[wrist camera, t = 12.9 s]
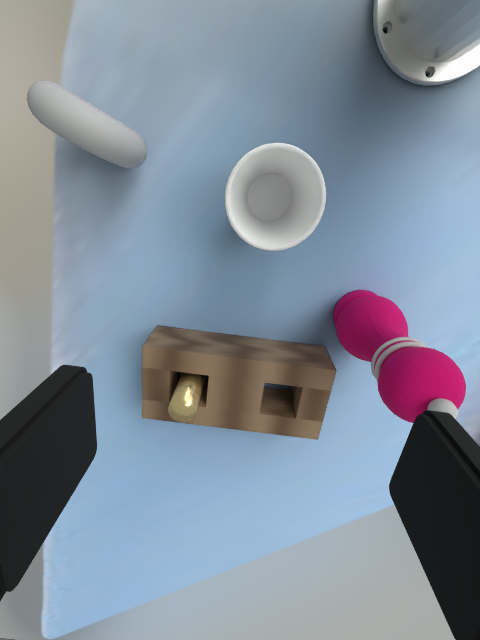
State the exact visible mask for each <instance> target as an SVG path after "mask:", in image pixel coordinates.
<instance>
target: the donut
mask: <svg viewBox="0 0 480 640" xmlns="http://www.w3.org/2000/svg"><path fill="white" fill-rule="evenodd" d="M27 101H28V105H29V108H30V110H31V112H32V114H33V115H34V116H35V117H36V118H37V119H38V121H40V123H41V124H43V125H44V126H46V127H47V128H48V129H50V130H51V131H53V132H54V133H56V134H58V135H59V136H61V137H63V138H64V139H66V140H68V141H69V142H71V143H73V144H75V145H77V146H78V147H80V148H82V149H84V150H86V151H88V152H90V153H92V154H94V155H96V156H98V157H100V158H102V159H104V160H106V161H108V162H111V163H113V164H116V165H118V166H121V167H124V168H135V167H138V166H140V165H141V164H142V163H143V162H144V160H145V158H146V154H147V151H146V145H145V142H144V140H143V139H142V137H141V136H140V135H139V134H138V133H137V132H135V131H134V130H132V129H131V128H129V127H127V126H126V125H124V124H123V123H121V122H119V121H118V120H116V119H114V118H113V117H111V116H109V115H108V114H106V113H104V112H103V111H101V110H100V109H98V108H96V107H95V106H93V105H91V104H90V103H88V102H86V101H85V100H83V99H81V98H80V97H78V96H76V95H75V94H73V93H71V92H70V91H68V90H66V89H65V88H63V87H61V86H60V85H58V84H56V83H53V82H51V81H46V80H41V81H37V82H35V83H34V84H32V85H31V86H30V88H29V90H28V94H27Z"/></svg>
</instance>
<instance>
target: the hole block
mask: <svg viewBox="0 0 480 640" xmlns="http://www.w3.org/2000/svg"><path fill="white" fill-rule="evenodd" d="M180 372H184V373H192V374H200V375H208V376H209V380H205V381H204V384H203V388H202V392H201V396H200V400H199V403H198V407H197V411H196V415H195V417H194V418H193V419H192V420H190V421H188V422H179V423H188V424H196V425H204V426H212V427H220V428H228V429H236V430H244V431H252V432H260V433H268V434H277V435H285V436H293V437H301V438H309V439H317V440H318V437H319V434H320V430H321V426H322V422H323V419H324V415H325V411H326V408H327V404H328V400H329V396H330V393H331V389H332V385H333V381H334V378H335V374H336V368H335V366H334V364H333V362H332V360H331V358H330V355H329V353H328V351H327V349H326V347H325V346H317V345H309V344H301V343H293V342H285V341H277V340H269V339H261V338H253V337H245V336H237V335H229V334H221V333H213V332H205V331H198V330H190V329H182V328H174V327H166V326H158V325H157V327H156V328H155V330H154V331H153V332H152V334H151V335H150V336H149V338H148V339H147V341H146V342H145V343H144V345H143V346H142V418H147V419H155V420H163V421H171V422H178V421H176V420H174V419H173V418H172V417H171V416H170V415H169V413H168V406H169V404H170V401H171V399H172V396H173V394H174V391H175V389H176V386H177V384H178V381H179V379H180ZM265 383H272V384H280V385H288V386H292V387H291V390H286V389H278V388H270V387H264V384H265Z"/></svg>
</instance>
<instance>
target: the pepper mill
mask: <svg viewBox="0 0 480 640" xmlns="http://www.w3.org/2000/svg"><path fill="white" fill-rule="evenodd" d="M333 321H334V324H335V326H336V331H337V336H338V339H339V341H340V343H341V344H342V346H343V347H344V348H345V349H346V350H347V351H348V352H349V353H350V354H352V355H353V356H355V357H357V358H359V359H361V360H365V361H369V362H371V369H372V373H373V375H374V377H375V378H376V379H377V381H378V391H379V394H380V396H381V398H382V400H383V402H384V403H385V405H386V406H387V407H388V408H389V409H390V410H391V411H392V412H393V413H394V414H395V415H397V416H398V417H400V418H401V419H403V420H406V421H408V422H412V423H414V421H415V419H416V417H417V416H418V415H420V414H422V413H423V412H424V411H426V410H431V411H439V412H447V413H450V414H451V415H452V416H453V417H454V418H455V419H457V417H458V411H457V410H458V408H459V407H460V406H461V404H462V403H463V400H464V397H465V391H466V384H465V380H464V377H463V374H462V372H461V370H460V369H459V367H458V366H457V365H456V364H455V362H454V361H453V360H452V359H451V358H449V357H448V356H447V355H445V354H444V353H442V352H439V351H437V350H435V349H431V348H428V347H427V346H425V345H424V343H422V342H421V341H419V340H417V339H414V338H410V337H408V326H407V322H406V319H405V317H404V315H403V313H402V311H401V310H400V309H399V308H398V307H397V306H396V304H394V303H393V302H392V301H390V300H389V299H386V298H384V297H381V296H377V295H376V294H375V293H373V292H370V291H366V290H357V291H353V292H350V293H348V294H346V295H344V296H343V297H342V298H341V299H340V300H339V301H338V303H337V304H336V306H335V308H334V311H333Z"/></svg>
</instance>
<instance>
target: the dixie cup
mask: <svg viewBox="0 0 480 640" xmlns="http://www.w3.org/2000/svg"><path fill="white" fill-rule="evenodd" d="M325 203H326V187H325V182H324V178H323V175H322V173H321V170H320V168H319V167H318V165H317V164H316V162H315V161H314V160H313V159H312V158H311V156H309V155H308V154H307V153H306V152H304V151H303V150H301V149H300V148H298V147H295V146H293V145H290V144H285V143H270V144H265V145H262V146H259V147H257V148H255V149H253V150H251V151H250V152H248V153H247V154H246V155H245V156H243V157H242V158H241V159H240V160H239V162H238V163H237V164H236V165H235V167H234V168H233V170H232V172H231V174H230V176H229V179H228V182H227V185H226V190H225V208H226V213H227V216H228V219H229V222H230V224H231V226H232V227H233V229H234V230H235V232H236V233H237V234H238V235H239V237H241V238H242V239H243V240H244V241H245V242H247V243H248V244H250V245H252V246H254V247H256V248H259V249H262V250H267V251H279V250H285V249H288V248H291V247H293V246H296V245H297V244H299V243H301V242H302V241H304V240H305V239H306V238H307V237H308V236H309V235H310V234H311V233H312V232H313V231H314V230H315V228H316V227H317V225H318V223H319V222H320V220H321V217H322V215H323V212H324V208H325Z"/></svg>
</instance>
